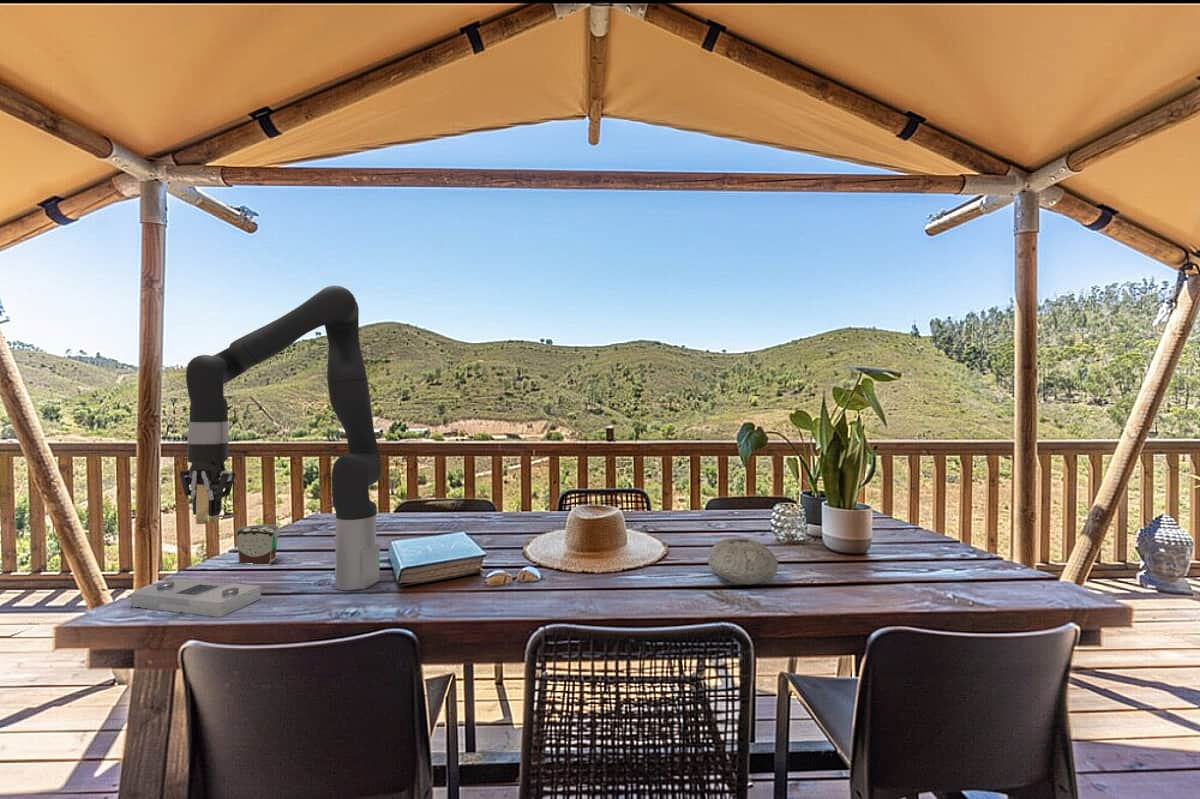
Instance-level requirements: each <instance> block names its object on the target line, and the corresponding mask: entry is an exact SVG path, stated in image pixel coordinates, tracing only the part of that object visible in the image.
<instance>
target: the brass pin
mask: <svg viewBox="0 0 1200 799" xmlns="http://www.w3.org/2000/svg"><path fill="white" fill-rule="evenodd" d="M217 485H218V483H217V484H212V486H217ZM216 492H217V489H214V493H215V494H216ZM209 500H210V499H209V494H208V491H206V489H205V484H197V488H196V515H195V524H196V525H208V524H209V525H210V524H215V523H217V522H218V516H219V515H217V516H209Z"/></svg>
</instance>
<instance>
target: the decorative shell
mask: <svg viewBox="0 0 1200 799" xmlns="http://www.w3.org/2000/svg"><path fill="white" fill-rule="evenodd" d="M707 563H708V566H709V567H710V569H711V570H712V572H713V573H715V574H716V575H718V576H719V577H721V578H722V579H723V578H724V579H725V580H727V581H729V582H731V583H733V584H738V585H739V584H740V585H743V584H747V585H748V586H749V585H753V584H755V585H756V584H759V583H760V584H761V583H764V582H765V581H769V580H772V579H774V577H775V576H776V575H777V573H778V570H779V566H778V563H779V560H778V559H777V558H776V557H775V555H774V553H773V552H772V551H771V549H770V548H768V547H767V546H766V545H765V544H763V543H761V542H759V541H756V540H753V539H751V538H745V537H736V538H728V539H727V538H725V539H722V540H720V541H717V542H715V543H714V545H713V546H712V547H710V548H709V552H708V555H707ZM747 585H746V586H747Z"/></svg>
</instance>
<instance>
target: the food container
mask: <svg viewBox="0 0 1200 799" xmlns="http://www.w3.org/2000/svg"><path fill="white" fill-rule="evenodd" d="M281 534H282V533H281V529H280V528H279V525H276V524H255V525H247V526H242V527H239V528H236V530H235V533H234V536H235V537H236V543H237V554H238V564H239V563H253V564H269V565H270V564H272V563H274V562H276V557H277V556H276V554H277V546H278V537H279V536H281ZM274 564H275V563H274ZM272 565H273V564H272ZM270 566H271V565H270Z"/></svg>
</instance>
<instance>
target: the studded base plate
mask: <svg viewBox="0 0 1200 799" xmlns="http://www.w3.org/2000/svg"><path fill="white" fill-rule="evenodd" d="M258 599H260V600H262V586H261V585H253V584H242V583H233V582H232V583H231V582H221V581H211V580H210V581H208V580H201V579H200V580H199V579H191V578H190V579H189V578H180V577H179V578H173V579H171V580H167V581H165V582H161V583H158V584H156V585H153V586H149V587H147V588H144V589H141V590H138V591H134V592H131V593H130V607H131V606H133V607H132V608H135V607H141V608H140V609H143V608H147V609H146V610H152V609H156V610H155V611H161V610H164V611H163V612H170V611H175V612H174V613H179V612H183V613H182V614H188V613H190V614H191V615H199V616H207V617H208V616H209V617H214V618H215V617H216V618H221V617H223V616H226V615H228V614H230V613H232V612H235V611H238V610H240V609H241V608H244V607H247V606H248V605H250V603H251V604H253V603H255V602H257V601H256V600H258ZM254 601H255V602H254ZM258 601H259V600H258ZM252 602H253V603H252Z"/></svg>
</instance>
